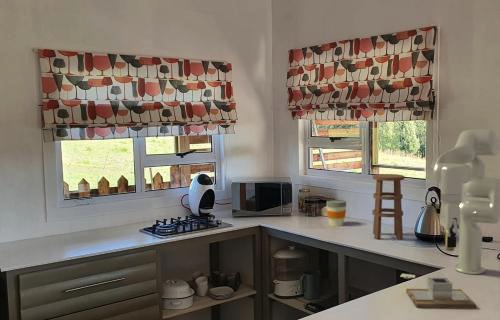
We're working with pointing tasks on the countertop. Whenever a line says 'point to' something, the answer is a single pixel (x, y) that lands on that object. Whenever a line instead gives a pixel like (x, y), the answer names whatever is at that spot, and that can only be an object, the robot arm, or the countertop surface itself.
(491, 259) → the countertop surface
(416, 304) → the walnut board
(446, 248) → the hinge pin
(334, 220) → the reusable coffee cup
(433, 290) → the grey stepped block
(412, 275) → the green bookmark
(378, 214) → the stool
